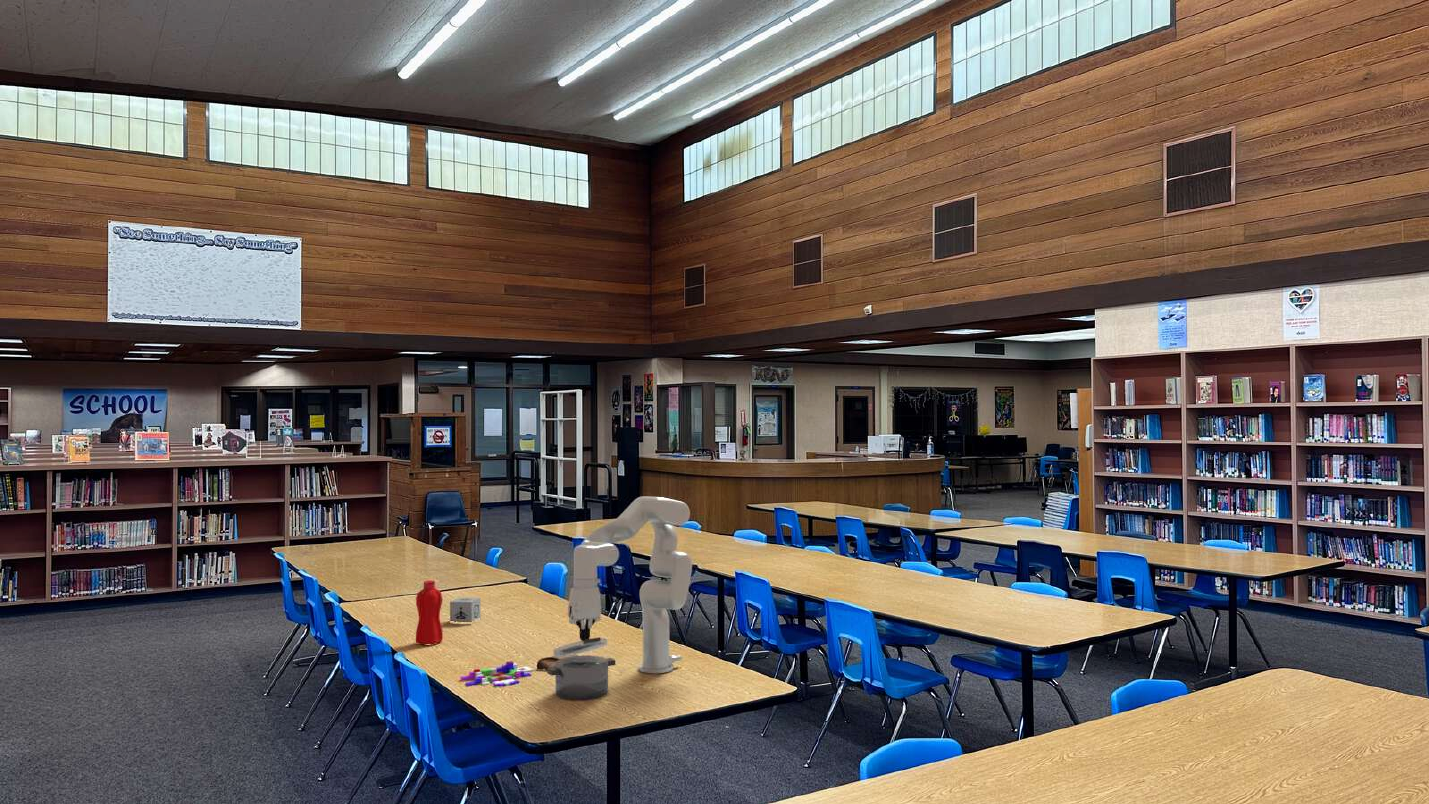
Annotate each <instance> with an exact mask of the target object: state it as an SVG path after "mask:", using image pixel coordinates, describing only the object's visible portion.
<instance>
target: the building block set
mask: <svg viewBox="0 0 1429 804" xmlns="http://www.w3.org/2000/svg"><path fill="white" fill-rule="evenodd" d="M518 669H523V670H518ZM524 669H525V670H524ZM527 671H531V672H534V671H533V668H531V667H529V666H522V667H518V664H517V663H516V662H515V663H514V662H513V661H512V660H505V661H504V664H502V665H501V666H499V667H498V666H497V667H494V668H485V669H480V668H475V669H473V670H472V671H469V673H468V675H462V676H460V679H461V680H462V682H464V681H463V680H466V681H467V682H465V685H466V686H467V687H471V686H472V685H473V686H478V685H482V686H488V685H487V684H489V685H491V683H492V682H493V683H494V684H493V683H492V684H493V687H494V686H499V687H500V686H503V687H507V686H514V685H517V684H520V681H519V680H518V679H520V678H519V677H521V678H527V677H531V676H532V674H531V672H527ZM524 672H525V673H524ZM506 673H509V674H506ZM495 675H497V676H495ZM498 675H499V676H498ZM513 677H515V678H513ZM474 678H475V679H474ZM516 678H517V679H516ZM469 679H472V680H474V681H470V680H469ZM502 679H506V680H502ZM461 680H460V681H461ZM498 680H501V681H498ZM480 683H482V684H480ZM516 683H517V684H516Z"/></svg>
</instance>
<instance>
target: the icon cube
mask: <svg viewBox="0 0 1429 804" xmlns="http://www.w3.org/2000/svg"><path fill="white" fill-rule="evenodd" d="M478 618H480V619H481V597H461V596H460V597H457V598H455V599H453V600H450V601H449V622H450V621H454V622H456V621H457V622H472V621H474V620H475V619H478Z"/></svg>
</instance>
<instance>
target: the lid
mask: <svg viewBox="0 0 1429 804" xmlns="http://www.w3.org/2000/svg"><path fill="white" fill-rule="evenodd" d="M607 645H608V639H607V638H601V637H594V638H589V639H586V640H584V641H581V640H580V641H576V642H571V643H568V644H565V645H562V646H559V647H558V648H557V647H556V648H555V649H554V650H553V656H566V655H573V654H577V655H578V654H583V653H586V652H587V653H588V652H590V651H593V650H598V649H601V648H602V647H605V646H607Z"/></svg>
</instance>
